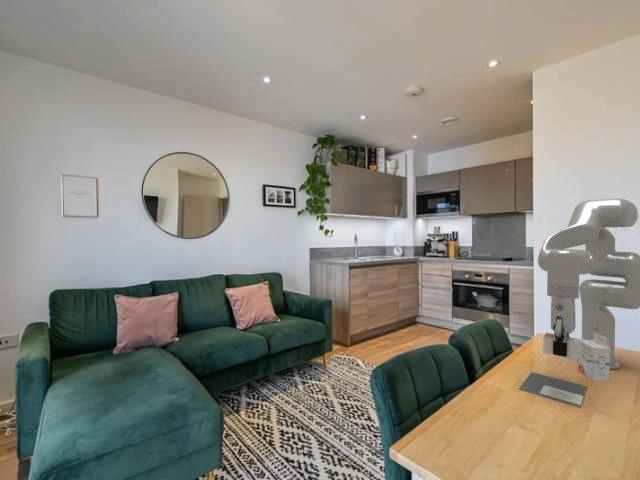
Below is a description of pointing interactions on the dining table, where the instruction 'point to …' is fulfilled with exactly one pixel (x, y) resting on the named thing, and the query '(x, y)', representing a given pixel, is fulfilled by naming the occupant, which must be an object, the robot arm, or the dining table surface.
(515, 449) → the dining table surface
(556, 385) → the mat
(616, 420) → the dining table surface
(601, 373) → the ink cartridge box
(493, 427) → the dining table surface
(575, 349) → the card deck case
